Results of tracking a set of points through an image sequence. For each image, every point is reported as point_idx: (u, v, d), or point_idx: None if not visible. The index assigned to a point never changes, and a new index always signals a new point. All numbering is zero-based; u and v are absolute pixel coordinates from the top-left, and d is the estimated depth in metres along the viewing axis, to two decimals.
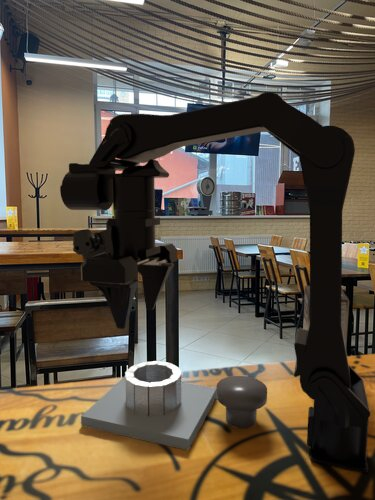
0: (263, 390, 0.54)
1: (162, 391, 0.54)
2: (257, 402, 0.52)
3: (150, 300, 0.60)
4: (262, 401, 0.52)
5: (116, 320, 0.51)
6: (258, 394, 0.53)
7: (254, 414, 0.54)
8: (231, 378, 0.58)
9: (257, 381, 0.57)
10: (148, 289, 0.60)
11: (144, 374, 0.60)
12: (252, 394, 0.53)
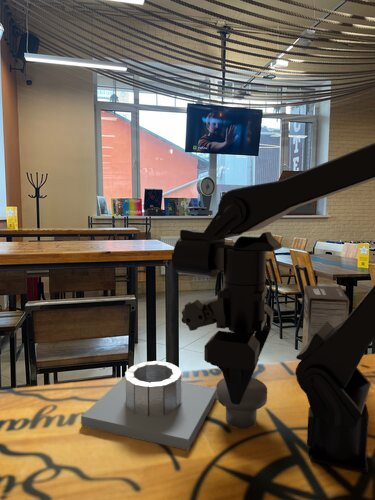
0: (263, 390, 0.54)
1: (162, 391, 0.54)
2: (257, 402, 0.52)
3: None
4: (262, 401, 0.52)
5: (232, 396, 0.50)
6: (258, 394, 0.53)
7: (254, 414, 0.54)
8: None
9: (257, 381, 0.57)
10: None
11: (144, 374, 0.60)
12: (252, 394, 0.53)
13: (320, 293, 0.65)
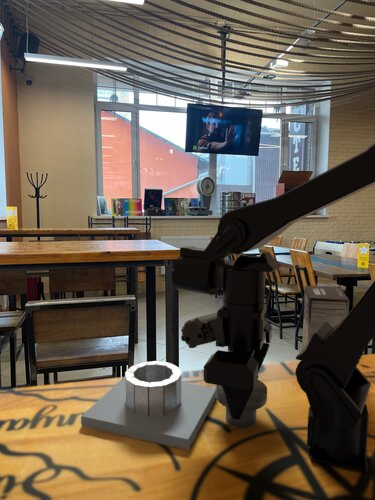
0: (263, 390, 0.54)
1: (162, 391, 0.54)
2: (257, 402, 0.52)
3: None
4: (262, 401, 0.52)
5: (232, 411, 0.51)
6: (258, 394, 0.53)
7: (254, 414, 0.54)
8: None
9: (257, 381, 0.57)
10: None
11: (144, 374, 0.60)
12: (252, 394, 0.53)
13: (320, 293, 0.65)
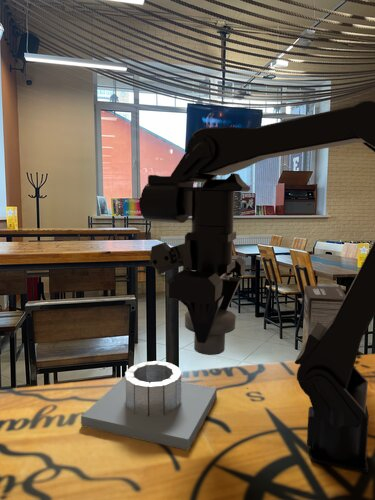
0: (231, 317, 0.54)
1: (162, 391, 0.54)
2: (223, 326, 0.51)
3: None
4: (228, 326, 0.52)
5: (197, 334, 0.51)
6: (225, 320, 0.53)
7: (222, 341, 0.54)
8: None
9: (227, 311, 0.56)
10: None
11: (144, 374, 0.60)
12: (220, 320, 0.53)
13: (320, 293, 0.65)
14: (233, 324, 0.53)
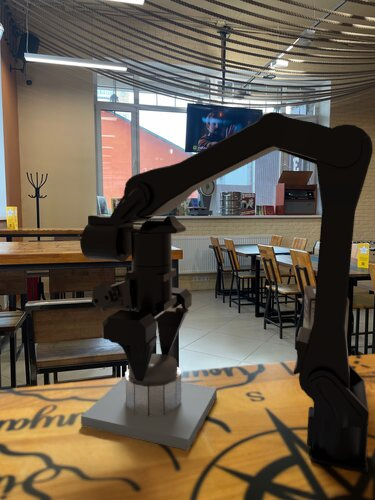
0: (172, 365, 0.56)
1: (162, 391, 0.54)
2: (163, 376, 0.54)
3: (165, 346, 0.61)
4: (168, 376, 0.55)
5: (135, 373, 0.52)
6: (166, 369, 0.55)
7: None
8: None
9: (171, 358, 0.59)
10: (163, 335, 0.61)
11: None
12: (160, 369, 0.55)
13: None
14: (173, 372, 0.55)
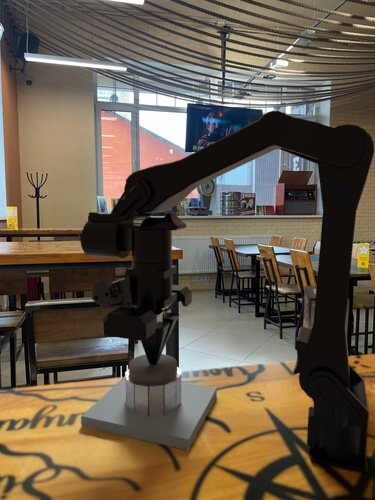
0: (172, 365, 0.56)
1: (162, 391, 0.54)
2: (163, 376, 0.54)
3: None
4: (168, 376, 0.55)
5: (148, 357, 0.56)
6: (166, 369, 0.55)
7: None
8: None
9: (171, 358, 0.59)
10: None
11: None
12: (160, 369, 0.55)
13: None
14: (173, 372, 0.55)
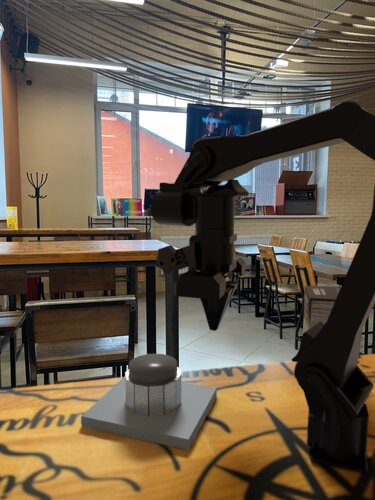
0: (172, 365, 0.56)
1: (162, 391, 0.54)
2: (163, 376, 0.54)
3: None
4: (168, 376, 0.55)
5: (210, 323, 0.58)
6: (166, 369, 0.55)
7: None
8: (147, 355, 0.60)
9: (171, 358, 0.59)
10: None
11: None
12: (160, 369, 0.55)
13: (320, 293, 0.65)
14: (173, 372, 0.55)
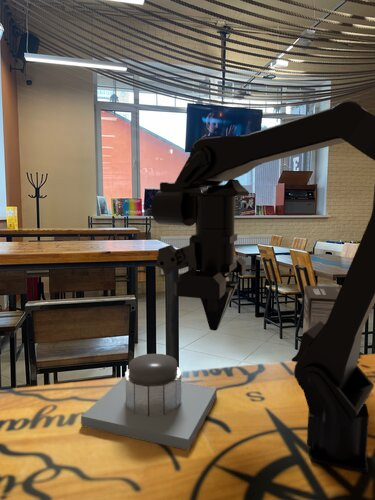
0: (172, 365, 0.56)
1: (162, 391, 0.54)
2: (163, 376, 0.54)
3: None
4: (168, 376, 0.55)
5: (210, 323, 0.58)
6: (166, 369, 0.55)
7: None
8: (147, 355, 0.60)
9: (171, 358, 0.59)
10: None
11: None
12: (160, 369, 0.55)
13: (320, 293, 0.65)
14: (173, 372, 0.55)
